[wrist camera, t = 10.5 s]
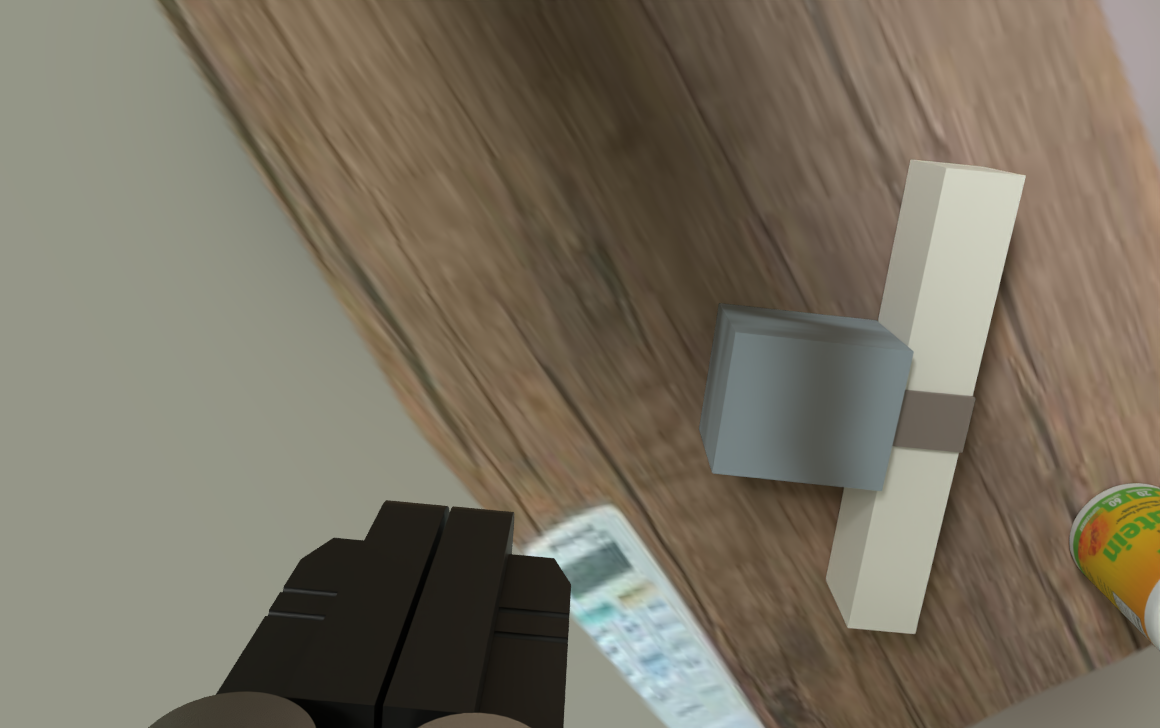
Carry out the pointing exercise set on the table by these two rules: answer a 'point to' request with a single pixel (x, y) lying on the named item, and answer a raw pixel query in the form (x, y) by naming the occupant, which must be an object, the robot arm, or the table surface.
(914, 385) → the cream rectangular bar
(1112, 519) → the supplement bottle
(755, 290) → the table surface
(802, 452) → the block
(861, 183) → the table surface
